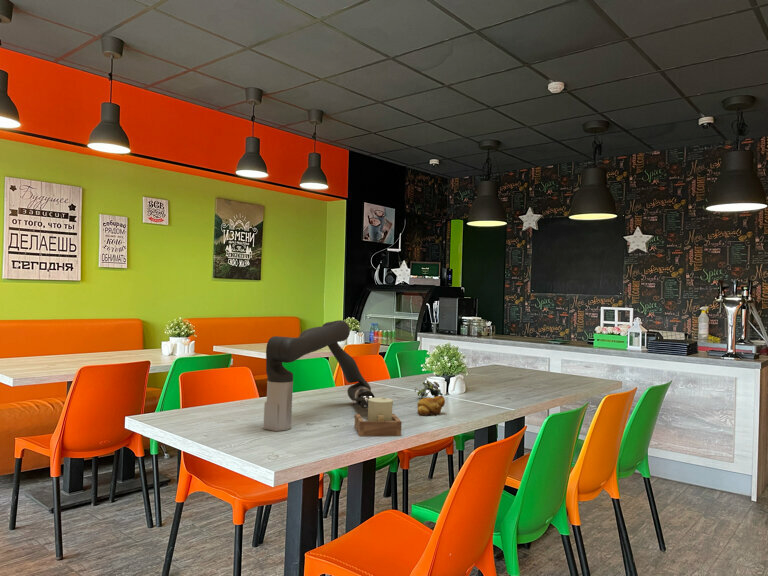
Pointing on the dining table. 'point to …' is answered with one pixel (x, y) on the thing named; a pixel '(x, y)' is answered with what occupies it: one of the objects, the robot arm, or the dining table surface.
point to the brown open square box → (378, 426)
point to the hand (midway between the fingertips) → (370, 405)
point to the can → (380, 408)
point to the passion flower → (431, 387)
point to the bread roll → (431, 405)
